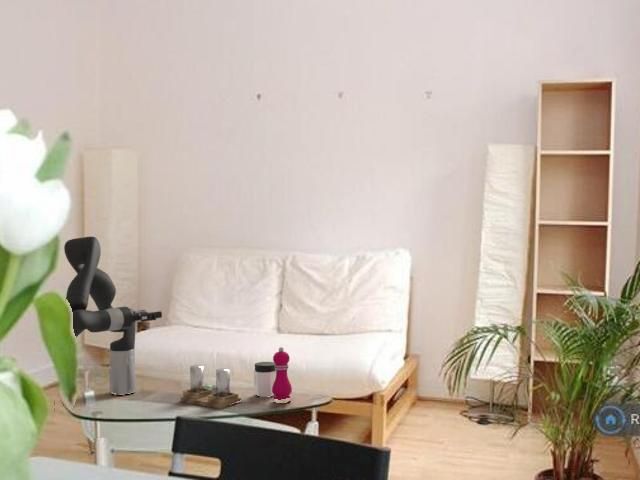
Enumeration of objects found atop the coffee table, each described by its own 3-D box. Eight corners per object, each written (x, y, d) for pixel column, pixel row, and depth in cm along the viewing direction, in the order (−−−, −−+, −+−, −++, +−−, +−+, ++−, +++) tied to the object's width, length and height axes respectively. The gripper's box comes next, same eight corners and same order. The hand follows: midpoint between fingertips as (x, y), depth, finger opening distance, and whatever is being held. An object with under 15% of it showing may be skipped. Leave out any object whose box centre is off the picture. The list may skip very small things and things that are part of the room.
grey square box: (197, 394, 275) (197, 387, 275) (208, 391, 280) (208, 384, 280) (208, 396, 271) (208, 389, 271) (219, 393, 276) (219, 386, 276)
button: (203, 393, 275) (202, 386, 275) (208, 392, 278) (208, 384, 278) (208, 394, 273) (208, 387, 273) (214, 393, 276) (213, 385, 276)
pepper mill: (289, 404, 257) (288, 349, 257) (270, 403, 258) (268, 348, 258) (294, 399, 264) (293, 345, 264) (275, 399, 265) (274, 345, 265)
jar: (280, 396, 270) (279, 364, 270) (260, 398, 266) (259, 366, 266) (271, 391, 278) (270, 360, 278) (251, 393, 275) (251, 362, 274)
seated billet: (213, 400, 259) (212, 370, 258) (223, 397, 263) (222, 367, 263) (223, 402, 256) (223, 371, 256) (233, 399, 260) (232, 369, 260)
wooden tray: (179, 401, 265) (179, 392, 265) (201, 395, 274) (201, 386, 274) (220, 408, 253) (220, 399, 252) (241, 402, 261) (241, 392, 261)
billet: (188, 396, 266) (187, 366, 266) (198, 393, 270) (197, 364, 270) (197, 397, 263) (196, 368, 263) (207, 395, 267) (206, 365, 267)
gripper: (129, 308, 236) (166, 304, 249) (101, 306, 244) (139, 302, 258) (129, 331, 236) (167, 325, 249) (102, 328, 245) (140, 323, 258)
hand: (153, 313), depth 253 cm, fingers open, 8 cm apart
